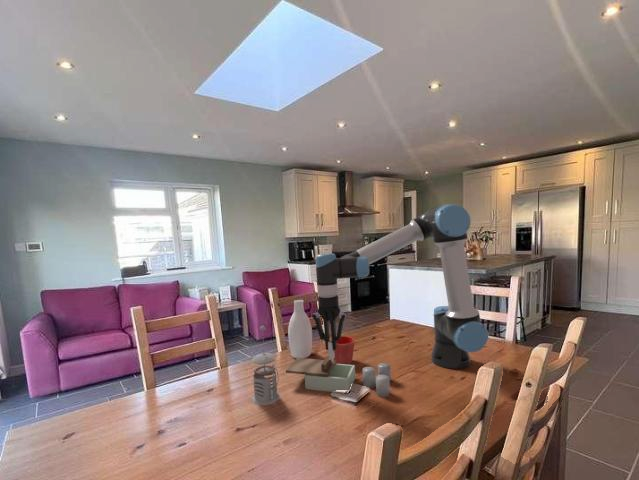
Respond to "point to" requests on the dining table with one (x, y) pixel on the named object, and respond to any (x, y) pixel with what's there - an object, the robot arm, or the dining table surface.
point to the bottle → (300, 332)
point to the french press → (265, 379)
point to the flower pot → (344, 350)
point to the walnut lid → (311, 366)
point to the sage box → (332, 379)
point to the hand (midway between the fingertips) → (331, 358)
